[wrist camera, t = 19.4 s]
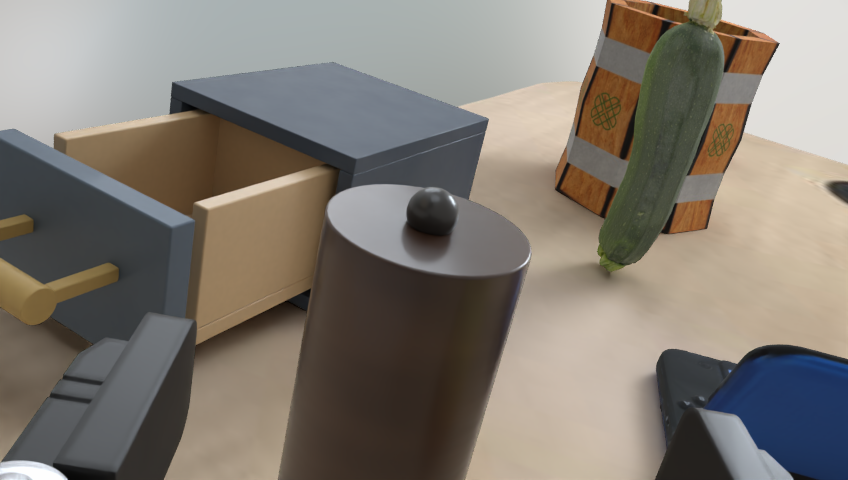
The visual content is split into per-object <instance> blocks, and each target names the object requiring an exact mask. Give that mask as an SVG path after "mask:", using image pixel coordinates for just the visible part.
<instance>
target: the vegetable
mask: <svg viewBox="0 0 848 480" xmlns="http://www.w3.org/2000/svg"><path fill="white" fill-rule="evenodd" d="M721 1H722V0H690V1H689V9H688V13H687V12H684V16H687V17H688V19H689V21H688V22H686V23H682V24H680V25H676V26H674V27H672V28H671V29H669V30H667V31H666V32H665V33H664V34H663V35H662V36H661V37H660V39H659V40H658V41H657V43H656V44H655V46H654V48H653V50H652V52H651V54H650V56H649V58H648V60H647V63H646V66H645V70H644V75H643V79H642V84H641V88H640V94H639V101H638V106H637V111H636V116H635V127H634V141H633V147H632V152H631V155H630V159H629V163H628V166H627V170H626V173H625V176H624V178H623V180H622V182H621V184H620V186H619V188H618V191H617V193H616V195H615V197H614V200H613V202H612V205H611V207H610V210H609V212H608V215H607V217H606V219H605V221H604V223H603V225H602V227H601V229H600V234H599V243H600V244H599V247H598V251H597V252H598V255H599V256H600V257H601V259H600V265H601V266H604V267H605V268H606V270H608V271H611V272H612V271H615V270H618V269H621V268H623V267H624V266H626V265H630V264H632V263H636V262H637V261H639V260H640V259H641V258H642V257H643V256H644V254H645V253H646V252H647V251H648V250H649V248H650V247H651V245H652V244H653V242H654V241H655V240H656V238H657V237H658V235H659V234H660V232H661V230H662V229H663V227H664V226H665V224H666V222H667V220H668V218H669V216H670V214H671V212H672V209H673V207H674V204H675V202H676V199H677V197H678V194H679V192H680V190H681V187H682V185H683V183H684V180H685V178H686V175H687V173H688V171H689V169H690V166H691V164H692V162H693V159H694V157H695V154H696V152H697V148H698V146H699V143H700V140H701V137H702V135H703V132H704V130H705V128H706V126H707V123H708V121H709V118H710V116H711V113H712V111H713V108H714V104H715V101H716V98H717V95H718V92H719V88H720V84H721V80H722V76H723V70H724V50H723V46H722V43H721V41H720V39H719V37H718V36H717V35H716V33H715V32H714V31H713V29H714V28H716V25H717V24H718V23H719V22H720V20H721V17H722V4H721Z"/></svg>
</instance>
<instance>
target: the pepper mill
mask: <svg viewBox="0 0 848 480" xmlns="http://www.w3.org/2000/svg"><path fill="white" fill-rule="evenodd" d="M531 255H532V253H531V246H530V243H529V241H528V239H527V238H526V236H525V235H524V234H523V233H522V231H521V230H520V229H519V228H518V227H516V226H515V225H514V224H513V223H512V222H510V221H509V220H507V219H506V218H504V217H503V216H501V215H499V214H498V213H496V212H494V211H492V210H490V209H488V208H486V207H484V206H482V205H480V204H477V203H475V202H472V201H470V200H467V199H464V198H461V197H458V196H455V195H452V194H450V193H449V192H448V191H446V190H444V189H442V188H439V187H427V188H422V187H415V186H407V185H394V184H374V185H364V186H358V187H353V188H350V189H346V190H344V191H342V192H339V193H338V194H336V195H335V196H333V197H332V198H331V199H330V200H329V202H328V203H327V205H326V207H325V212H324V218H323V224H322V230H321V235H320V241H319V247H318V253H317V258H316V264H315V270H314V275H313V281H312V287H311V293H310V298H309V304H308V310H307V316H306V321H305V327H304V333H303V338H302V344H301V350H300V356H299V361H298V367H297V373H296V379H295V384H294V390H293V396H292V401H291V407H290V413H289V419H288V424H287V430H286V436H285V442H284V447H283V453H282V459H281V465H280V470H279V476H278V480H465V478H466V475H467V471H468V468H469V465H470V461H471V458H472V455H473V451H474V448H475V445H476V441H477V438H478V434H479V431H480V428H481V424H482V421H483V418H484V414H485V411H486V408H487V404H488V401H489V397H490V394H491V391H492V387H493V384H494V381H495V377H496V374H497V371H498V367H499V364H500V360H501V357H502V354H503V350H504V347H505V344H506V340H507V337H508V334H509V330H510V327H511V324H512V320H513V317H514V313H515V310H516V307H517V303H518V300H519V297H520V293H521V290H522V287H523V283H524V280H525V276H526V273H527V270H528V266H529V263H530V260H531Z"/></svg>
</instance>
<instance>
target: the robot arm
mask: <svg viewBox="0 0 848 480" xmlns="http://www.w3.org/2000/svg"><path fill="white" fill-rule="evenodd" d="M196 337H197V322H196V320H193V319H187V318H181V317H175V316H169V315H164V314H158V313H152V312H148V313H147V314H146V315H145V316H144V318H143V319H142V321H141V322H140V324H139V326H138V327H137V329H136V330H135V332H134V334H133V335H132V337H131V338H130V340H129V341H124V340H118V339H112V338H107V337H106V338H104V339H102V340H100V341H99V342H97V343H95V344H94V345H92V346H90V347H89V348H87V349H85V350H84V351H82V352H80V353H79V354H78V355H77V357H76V358H75V359H74V361H73V362H72V364H71V365H70V366H69V368H68V369H67V371H66V372H65V373H64V375H63V379H62V380H61V379H60V380H59V382H58V383H57V385H56V386H55V387H54V389H53V390H52V392H51V394H50V397H49V398H48V397H47V399H46V400H45V401H44V403H43V404H42V406H41V407H40V408H39V410H38V411H37V413H36V414H35V415H34V417H33V418H32V420H31V421H30V422H29V424H28V425H27V427H26V428H25V429H24V431H23V432H22V434H21V435H20V436H19V438H18V439H17V441H16V442H15V443H14V445H13V446H12V448H11V449H10V450H9V452H8V453H7V455H6V456H5V457H4V459H3V460H2V462H0V480H164V478H165V475H166V473H167V470H168V468H169V466H170V463H171V461H172V459H173V456H174V454H175V452H176V449H177V447H178V445H179V442H180V440H181V437H182V434H183V430H184V427H185V423H186V419H187V414H188V409H189V403H190V394H191V384H192V375H193V365H194V356H195V346H196ZM655 480H793V478H792V476H791V475H790V473H789V472H787V471H786V470H785V469H784V468H783V467H782V466H781V465H780V464H779V463H778V462H777V461H776V460H775V459H773V458H772V457H771V456H770V455H769V454H768V453H767V452H766V451H765V450H760V449H758V448H757V446H756V444H755V443H754V441H753V439H752V438H751V436H750V434H749V433H748V431H747V429H746V428H745V426H744V424H743V422H742V421H741V419H740V418H739V417H738V416H737V415H734V414H729V413H723V412H717V411H712V410H706V409H700V408H694V407H690V408H688V409H686V410H685V412H684V413H683V414H682V416H681V418H680V420H679V423H678V425H677V428H676V430H675V432H674V435H673V437H672V440H671V442H670V444H669V447H668V449H667V452H666V454H665V457H664V459H663V461H662V464H661V466H660V469H659V471H658V474H657V476H656V479H655Z"/></svg>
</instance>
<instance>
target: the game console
mask: <svg viewBox="0 0 848 480" xmlns="http://www.w3.org/2000/svg"><path fill="white" fill-rule="evenodd" d="M656 373H657V379H658V387H659V394H660V400H661V411H662V416H663V423H664V430H665V436H666V443H667V449H668V447H669V444H670V442H671V440H672V437H673V435H674V432H675V430H676V428H677V425H678V423H679V420H680V418H681V416H682V414H683V413H684V412H685V410H686V409H688V408H690V407H694V408H700V409H706V410H712V411H717V412H723V413H729V414H734V415H737V416H738V417H739V418H740V419H741V421H742V422H743V424H744V426H745V428H746V429H747V431H748V433H749V434H750V436H751V438H752V439H753V441H754V443H755V444H756V446H757V448H758V449H760V450H765V451H766V452H767V453H768V454H769V455H770V456H771V457H772V458H773V459H775V460H776V461H777V462H778V463H779V464H780V465H781V466H782V467H783V468H784V469H785V470H786V471H787V472H789V473H790V475H791V476H792V478H793V480H848V359H845V358H841V357H837V356H834V355H830V354H826V353H822V352H819V351H815V350H811V349H807V348H803V347H798V346H792V345H766V346H762V347H758V348H756V349H754V350H752V351H750V352H748V353H747V354H746V355H745V356H744V357H743V358H742V359H741V361H740V362H739V363H738V364H735V363H731V362H729V361H724V360H723V361H720V360H717V359H713V358H709V357H705V356H702V355H698V354H695V353H690V352H687V351H683V350H678V349H668V350H665V351H664V352H663V353H662V354H661V356H660V357H659V360H658V362H657V365H656Z"/></svg>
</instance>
